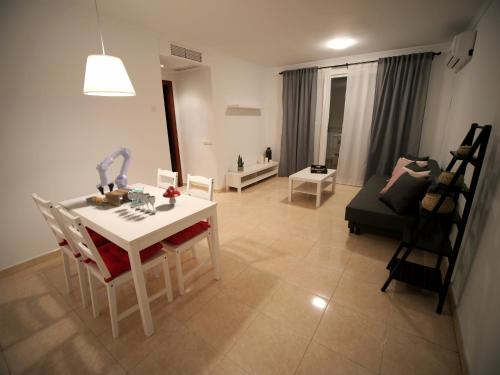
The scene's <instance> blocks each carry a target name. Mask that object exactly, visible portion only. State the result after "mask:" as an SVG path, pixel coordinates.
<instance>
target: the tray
mask: <svg viewBox="0 0 500 375" xmlns="http://www.w3.org/2000/svg"><path fill="white" fill-rule="evenodd" d="M85 201H86V204H88V205H92V206H93V205H94V206H99V207H103V206H107V202H106V200H104V197H100V196H95V195H94V196H90V197H87V198H85Z"/></svg>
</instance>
